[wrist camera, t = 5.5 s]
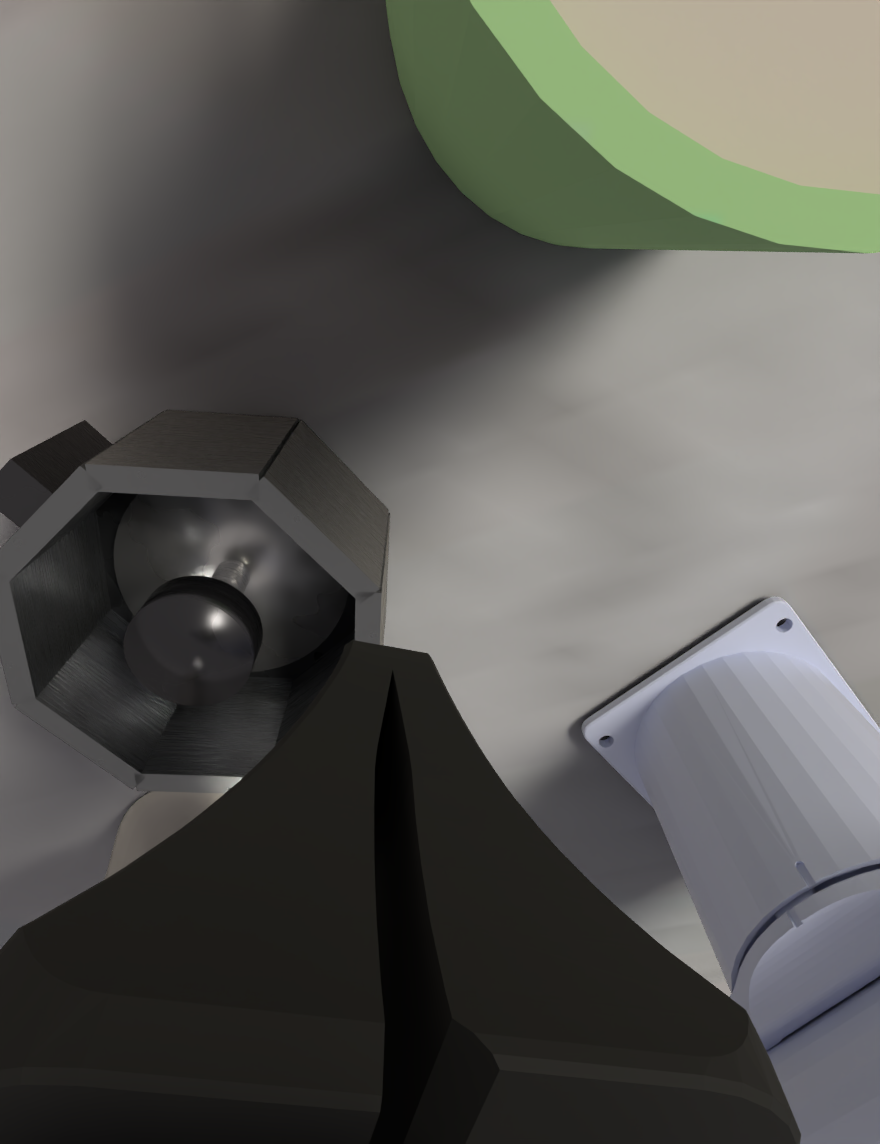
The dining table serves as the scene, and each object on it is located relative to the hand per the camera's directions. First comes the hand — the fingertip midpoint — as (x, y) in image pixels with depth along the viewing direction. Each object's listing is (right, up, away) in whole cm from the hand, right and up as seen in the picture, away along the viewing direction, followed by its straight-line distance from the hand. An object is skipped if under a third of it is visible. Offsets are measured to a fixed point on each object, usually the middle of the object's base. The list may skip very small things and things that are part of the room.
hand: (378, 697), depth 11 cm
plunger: (-5, +2, +9) cm, 11 cm away
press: (-5, +2, +10) cm, 11 cm away
